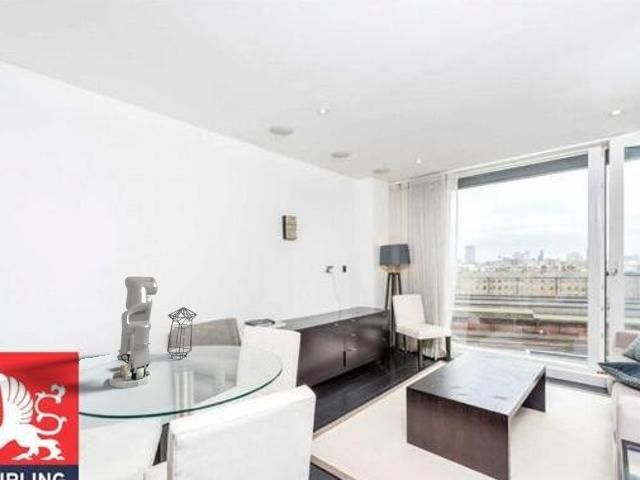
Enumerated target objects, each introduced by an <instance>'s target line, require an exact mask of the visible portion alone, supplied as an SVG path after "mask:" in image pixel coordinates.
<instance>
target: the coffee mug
mask: <svg viewBox="0 0 640 480" xmlns="http://www.w3.org/2000/svg"><path fill="white" fill-rule="evenodd" d="M130 353H131V351H129V352H128V353H127V354H123V355H127V357H128V360H124V359H123V358H122V356H123V355H122V356H121V358H122V361H123V362H125V364H129V357H130ZM131 369H132V366H131Z"/></svg>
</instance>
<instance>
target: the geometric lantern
mask: <svg viewBox="0 0 640 480" xmlns="http://www.w3.org/2000/svg"><path fill="white" fill-rule="evenodd" d="M180 315H182V316H180ZM197 316H198V314H197V313H195V312H193V311H192V310H190V309H188V308H187V307H185V306H183V307H181V308H179V309H177V310H175V311H173V312H171V313H169V314H167V317H168V318H170V319H171V321H172V322H171V326H170V332H169V336H168V344H167V347H166V348H167V349H166V352H167V353H169V355H170V358H171V357H172V356H174V357H179V360H182V357H184V356H183V355H187V356H188V353H190V352H191V351H192V350H193V349H192V348H193V345H192V344H193V343H192V341H193V340H192V339H193V337H192V335H193V331H192V329H193V324H192V321H193V320H194V318H196V317H197ZM183 319H184V320H183ZM181 320H183V321H182V323H181V322H180V321H181ZM186 320H187V322H186V323H185V321H186ZM174 322H177V323H178V324H174ZM188 322H189V326H187V325H188ZM184 323H185V324H184ZM173 324H174V325H173ZM177 326H178V327H177ZM185 326H187V327H185ZM173 327H174V328H175V329H177V335H176V340H175V347H173V348H171V349H170V344H171V336H172V329H173ZM187 328H190V339H189V340H190V344H189V348H187V347H185V339H183V341H182V332H183V335H185V329H187ZM179 330H180V336H179ZM178 336H179V337H178ZM178 339H179V346H178V347H177V345H178ZM182 342H183V343H182ZM181 343H182V344H183V345H182V344H181ZM181 346H182V347H181ZM181 349H182V351H181ZM172 350H175V352H174V351H172ZM185 350H187V351H185ZM176 354H180V355H176ZM172 358H173V357H172Z"/></svg>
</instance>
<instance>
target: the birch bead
mask: <svg viewBox="0 0 640 480" xmlns="http://www.w3.org/2000/svg"><path fill="white" fill-rule="evenodd" d="M128 365H129V364H127V363H124V364H120V365H119V371H120V375H119V377H121V378H125V375H126V374H129V372H130V371H129V370H127V369H126V368H127V367H128Z"/></svg>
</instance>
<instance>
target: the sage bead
mask: <svg viewBox="0 0 640 480" xmlns="http://www.w3.org/2000/svg"><path fill="white" fill-rule="evenodd" d="M136 373H137V374H136V380H141V379H143V374H144V367H142V366H141V367H137V370H136Z"/></svg>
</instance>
